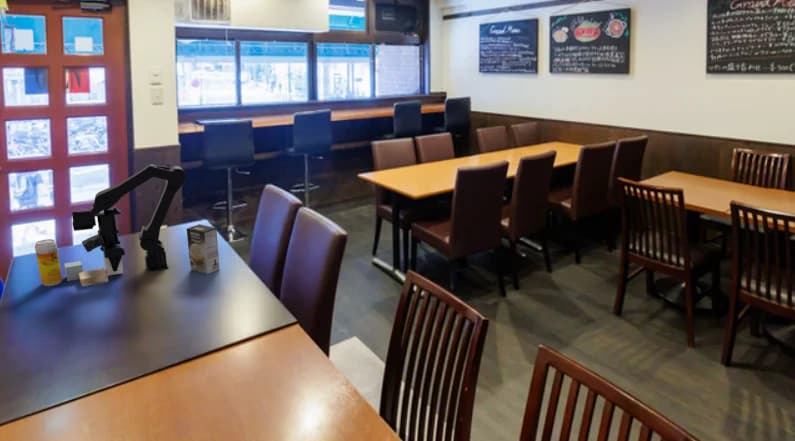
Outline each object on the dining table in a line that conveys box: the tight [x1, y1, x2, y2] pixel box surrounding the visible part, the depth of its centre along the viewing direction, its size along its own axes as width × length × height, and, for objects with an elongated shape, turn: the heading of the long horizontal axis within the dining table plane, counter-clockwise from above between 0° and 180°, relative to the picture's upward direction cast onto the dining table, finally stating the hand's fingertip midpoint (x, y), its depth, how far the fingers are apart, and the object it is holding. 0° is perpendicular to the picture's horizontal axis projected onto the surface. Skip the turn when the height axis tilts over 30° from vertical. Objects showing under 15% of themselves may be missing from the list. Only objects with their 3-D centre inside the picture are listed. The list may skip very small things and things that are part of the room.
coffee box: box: [186, 224, 221, 275], centre depth 196 cm, size 9×6×16 cm
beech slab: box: [78, 267, 109, 287], centre depth 187 cm, size 8×8×3 cm
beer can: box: [34, 239, 63, 287], centre depth 182 cm, size 6×6×15 cm
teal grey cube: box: [64, 260, 84, 282], centre depth 189 cm, size 5×5×5 cm
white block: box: [103, 255, 124, 276], centre depth 192 cm, size 5×5×6 cm
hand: (114, 268), depth 193 cm, fingers closed on white block, 5 cm apart
